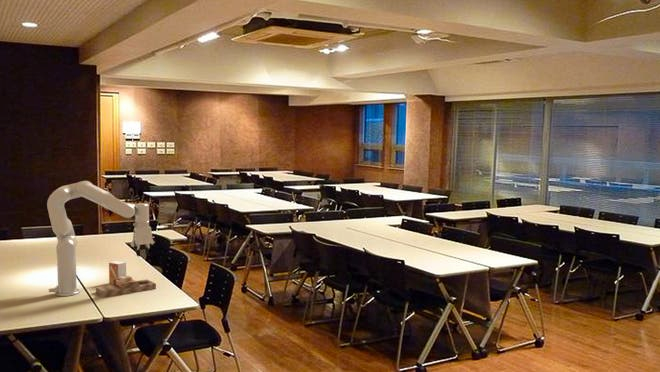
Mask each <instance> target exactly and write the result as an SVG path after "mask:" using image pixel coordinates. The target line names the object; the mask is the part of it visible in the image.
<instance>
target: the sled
mask: <svg viewBox="0 0 660 372" xmlns="http://www.w3.org/2000/svg"><path fill="white" fill-rule="evenodd" d="M135 281H136V280H135V279H133V278H132V281H131V282H135ZM125 283H128V282H125ZM121 284H122V282H120V280H116V285H118V286H119V287H121Z"/></svg>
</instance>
